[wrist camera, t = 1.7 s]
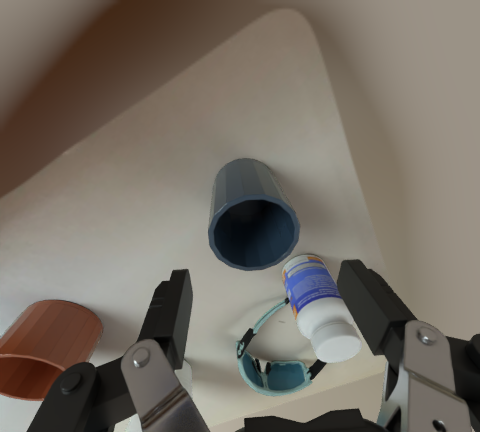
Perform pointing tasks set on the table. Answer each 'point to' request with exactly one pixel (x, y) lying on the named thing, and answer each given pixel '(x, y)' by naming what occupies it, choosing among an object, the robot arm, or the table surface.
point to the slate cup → (250, 217)
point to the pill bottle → (320, 309)
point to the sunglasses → (273, 366)
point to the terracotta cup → (45, 347)
